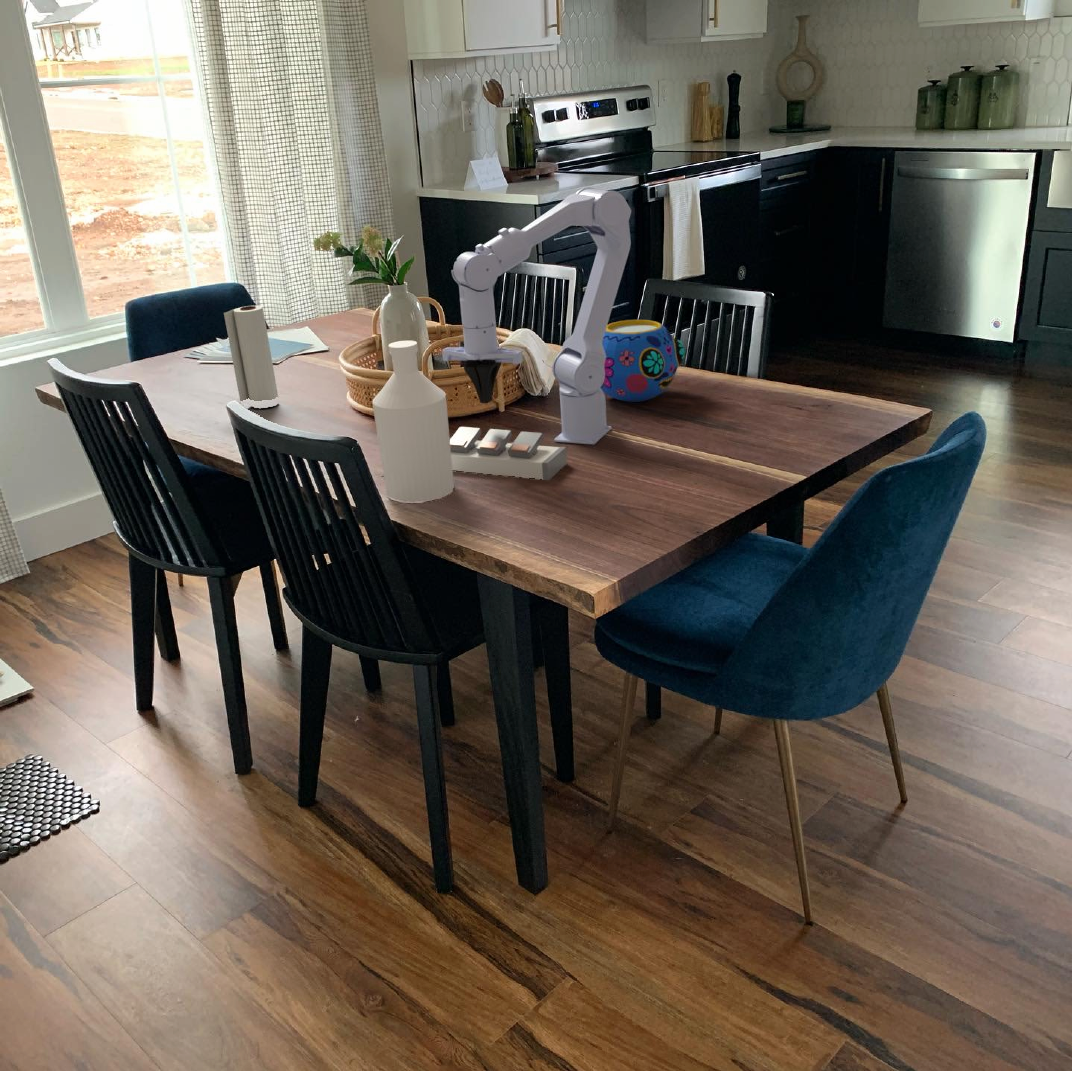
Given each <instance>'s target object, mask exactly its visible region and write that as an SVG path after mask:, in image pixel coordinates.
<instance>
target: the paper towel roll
mask: <svg viewBox="0 0 1072 1071" xmlns="http://www.w3.org/2000/svg"><path fill="white" fill-rule="evenodd" d="M264 312H265V311H264V307H263V306H262V305H247V306H241V307H238V308H237V307H236V308H233V309H231V310H229V311H226V312H223V315H224V316H223V317H224V321H225V326H226V327H225V328H226V331H227V336H228V343H229V348H230V349H229V350H230V354H231V359H232V364H233V370H234V375H235V381H236V386H237V391H238V396H239V402H240V401H243V400H246V399H248V398H249V399H250V400H254V401H262V400H272V399H275V398H276V397H278V398H279V394H278V387H277V383H276V375H275V370H274V363H273V359H272V353H271V352H272V351H271V347H270V340H269V335H268V334H269V333H268V330H267V324H266V318H265V313H264Z"/></svg>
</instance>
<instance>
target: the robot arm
mask: <svg viewBox="0 0 1072 1071" xmlns="http://www.w3.org/2000/svg"><path fill="white" fill-rule="evenodd" d="M631 214H632V209H631V207H630V205H629V204H628V202H627V201H626V199H625V197H624V196H623V194H621V192H618V191H615V190H604V189H597V188H594V187H587V186H586V187H582V188H581V189H579V190H578V191H577V192H575V193H571V194H570V195H569V194H568V195H567V196H566V197H565V198H564V199H563V200H562V201H561V202H559V203H558V204H556V205H554V206H553V207H552V208H550V209H549V210H547V212H545V213H544V214H542V215H541V216H539V217H538V218H536V219H535V220H534V221H532V222H530V223H529V224H528V225H526V226H524V227H523V228H522V229H519V228H516V227H510V228H506V227H503V228H501V229H499V230H498V231H497V232H498V235H496V236H495V237H493V238H492V239H490V240H489V241H487V242H485V243H484V244H482V243H479V244H477V245H476V246H475V250H474V251H465V252H463V253H461V254H460V255H459V256H457V258H456V261H454V264H453V269H451V276H452V278H453V280H454V281H455V282H456V284H457V285H458V289H459V290H458V292H459V303H460V316H461V324H462V333H463V334H462V335H463V344H464V346H456V347H450V346H448V347H445V348H443V349H442V350H441V354H442V361H444V362H449V361H466V363H465V365H464V366H463V370H464V372H465V373H466V374H467V376H468V377H469V379H470V381H471V382H472V385H473V387H474V388H475V391H476V393H477V397H478V399H479V403H480V404H488V403H490V402H492V400H493V393H494V387H495V382H496V379H497V376H498V373H499V370H500V368H501V366H502V365H503V363H506V364H510V363H511V364H512V365H519V364H521V363H522V362H523V350H519V349H511V348H505V347H500V346H499V344H498V343H499V342H498V332H497V331H498V330H497V322H496V309H495V297H494V290H493V289H494V285H495V284H496V282H497V281H498V277H500V276H501V275H503V274H505V273H506V272H508V271H509V270H511V269H513V268H514V267H515V266H517V265H519V264H520V263H523V262H524V261H526V260H527V259H528V258H529V257H530V255H531V252H532V248H533V247H535V246H536V245H538V244H540V243H542V242H544V241H545V240H547V239H549V238H551V237H552V236H554V235H556V234H559V233H560V232H562V231H563V230H565V229H567V228H569V227H573V226H575V227H576V226H579V227H580V226H581V227H583V228H584V229H585V230H586V231H587V232H588V233H589V235H590V237H591V238H592V240H593V242H594V243H595V245H596V247H597V249H596V250H597V251H596V254H595V257H594V262H593V265H592V268H591V271H590V274H589V279H588V282H587V285H586V288H585V290H584V291H585V292H584V295H583V298H582V302H581V304H580V305H581V306H580V309H579V312H578V315H577V319H576V321H575V326H574V329H573V332H572V334H571V335H570V336H569V337H568V338H567V339H565V341H563V344H562V347H561V350H560V351H559V353H558V354H557V355H556V356H555V358H554V360H553V361H552V366H551V370H552V371H551V372H552V375H553V377H554V379H555V380H556V381H558V382H559V400H560V419H561V421H560V422H561V433H559V435H557V436H556V437H555V438H554V440H553V441H554V442H557V443H569V444H570V443H571V444H581V445H582V444H583V445H596V443H598V442H599V441H600V440H601V439H602V438H604V436H605V435H606V434H608V432H610V430H612V426H611V425H607V405H606V404H607V403H606V402H607V401H606V395H605V392H603V391H602V389H601V388H600V387H601V386H602V384H603V382H604V379H605V369H604V364H605V360H606V354H605V351H604V348H603V345H602V340H603V337H604V334H605V330H606V327H607V325H609V324H608V323H609V321H610V316H611V313H612V311H613V306H614V304H615V300H616V297H617V294H618V290H619V287H620V283H621V280H622V277H623V273H624V270H625V266H626V264H627V260H628V257H629V253H630V250H631V244H632V242H631V239H632V238H631V232H630V229H631V228H630V222H629V220H630V217H631Z"/></svg>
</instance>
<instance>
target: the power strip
mask: <svg viewBox="0 0 1072 1071" xmlns="http://www.w3.org/2000/svg"><path fill="white" fill-rule="evenodd" d="M449 438H450V439H451V438H452V437H449ZM481 441H482V440H477V441H476V442H475V443H474V445H473V446H472V447H471V449H470V450H469V452H468V453H462V452H451V461H452V470H458V471H464V472H463V473H466V472H476V473H475V474H477V473H483V474H482V475H487V474H492V475H491V476H498V475H509V476H515V477H514V478H519V477H522V478H521V479H529V478H535V479H534V480H540V479H542V480H541V481H550V480H551V479H552V478H553V477H554V476H555V475H556V474H558V472H560V471H561V470H562V469H563V468H564V467H565V466H567V464H568V461H567V458H568V457H567V447H566V446H550V445H549V446H547V445H539V446H538V448H537V449H536V451H535V452H534V454H533V455H532V457H531V458H521V457H510V456H509V454H508V450H509V448H510V447H511V445H512V444H513V442H508V443H507V444H506V446H505V447H504V449H503V450H502V451H501V453H500V454H499V456H496V455H485V454H478V453H477V449H476V448H477V447H478V445H479V444H480V442H481ZM560 469H561V470H560Z"/></svg>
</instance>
